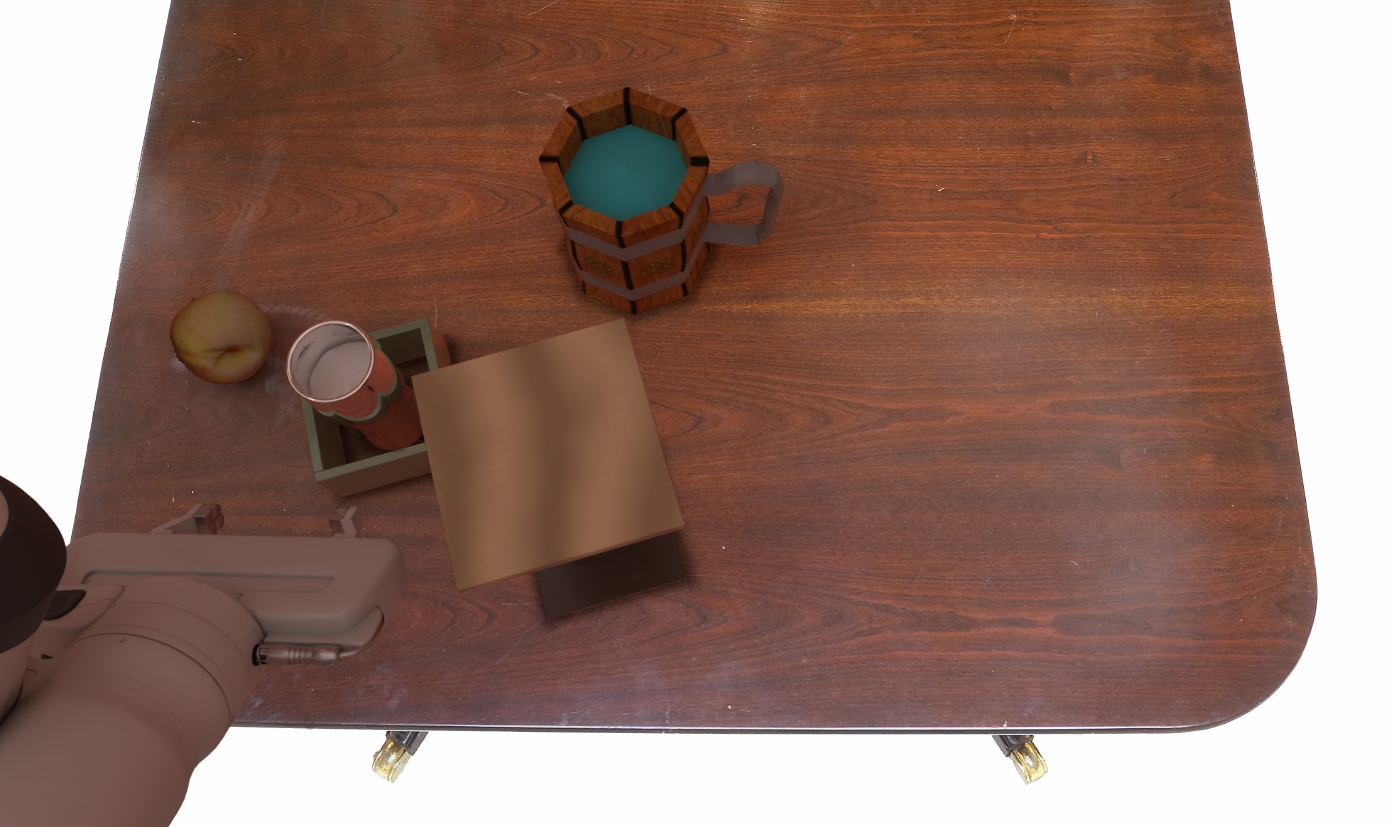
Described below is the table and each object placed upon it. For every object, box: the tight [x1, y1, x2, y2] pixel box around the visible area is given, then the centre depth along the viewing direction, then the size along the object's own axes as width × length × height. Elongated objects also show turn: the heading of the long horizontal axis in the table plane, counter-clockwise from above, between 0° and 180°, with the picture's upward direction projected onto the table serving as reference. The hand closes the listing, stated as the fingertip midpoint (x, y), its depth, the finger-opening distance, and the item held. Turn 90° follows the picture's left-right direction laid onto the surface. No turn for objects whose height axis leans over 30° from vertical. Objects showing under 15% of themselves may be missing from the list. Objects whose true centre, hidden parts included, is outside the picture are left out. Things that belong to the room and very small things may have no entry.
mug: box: [538, 86, 785, 315], centre depth 80 cm, size 20×14×15 cm
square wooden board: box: [410, 317, 686, 594], centre depth 54 cm, size 13×13×1 cm
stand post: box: [535, 531, 688, 621], centre depth 67 cm, size 12×12×27 cm
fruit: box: [169, 290, 272, 385], centre depth 81 cm, size 8×8×8 cm
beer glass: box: [285, 319, 424, 451], centre depth 76 cm, size 7×7×15 cm
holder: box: [299, 316, 452, 498], centre depth 80 cm, size 12×12×6 cm
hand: (281, 513), depth 62 cm, fingers open, 8 cm apart
